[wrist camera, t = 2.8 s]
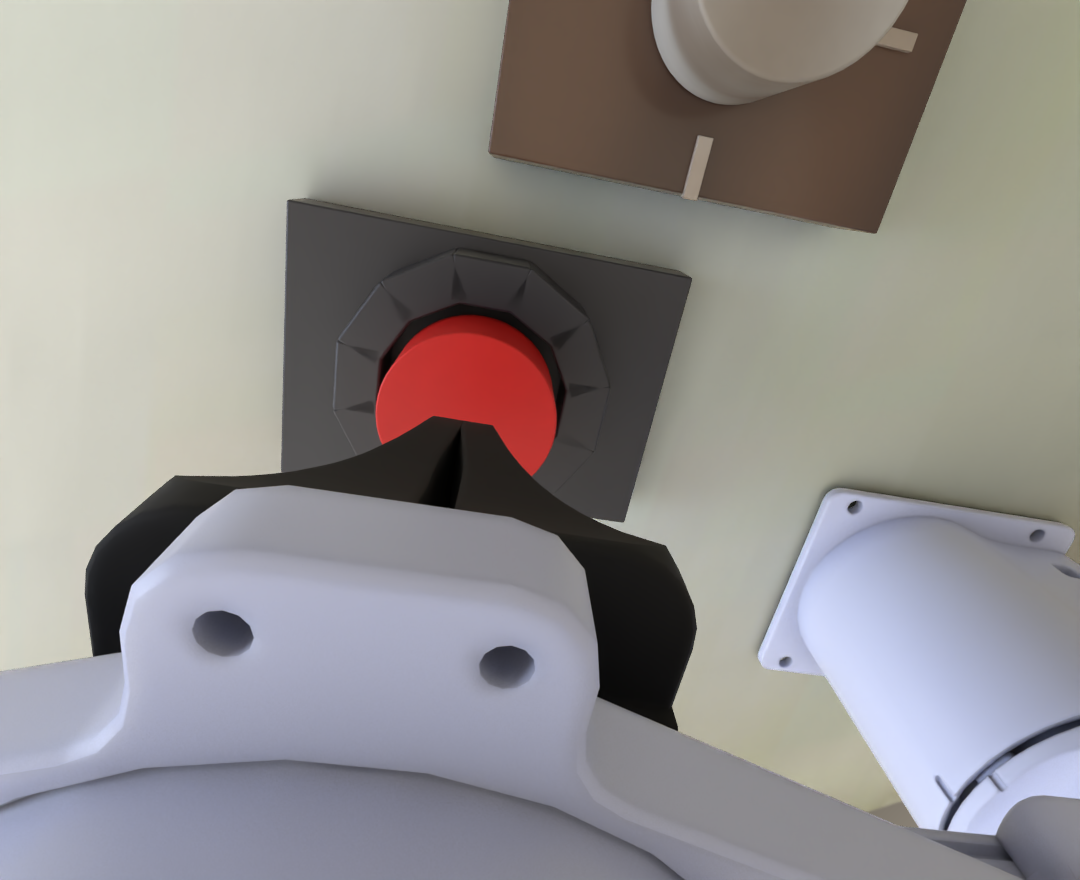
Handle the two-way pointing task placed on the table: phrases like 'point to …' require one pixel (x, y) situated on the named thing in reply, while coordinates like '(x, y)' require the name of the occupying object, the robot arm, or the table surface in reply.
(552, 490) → the switch box
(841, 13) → the dimmer knob
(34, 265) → the table surface
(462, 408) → the button
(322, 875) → the robot arm
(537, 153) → the dimmer panel
